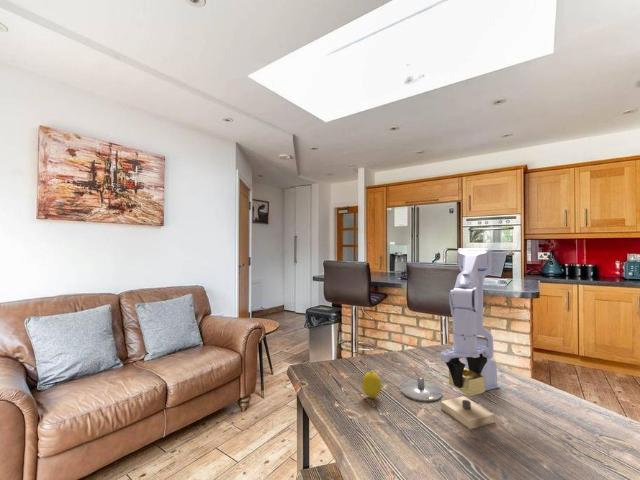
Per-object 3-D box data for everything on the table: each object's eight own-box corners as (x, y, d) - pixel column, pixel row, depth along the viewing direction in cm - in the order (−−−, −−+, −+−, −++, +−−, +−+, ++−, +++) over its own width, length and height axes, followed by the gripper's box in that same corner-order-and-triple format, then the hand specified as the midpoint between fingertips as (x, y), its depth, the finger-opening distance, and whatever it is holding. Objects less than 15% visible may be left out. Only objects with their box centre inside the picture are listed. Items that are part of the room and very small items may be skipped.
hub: (424, 380, 101) (424, 368, 101) (450, 397, 90) (450, 383, 90) (393, 386, 97) (393, 374, 97) (417, 404, 86) (416, 390, 86)
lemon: (381, 403, 87) (380, 375, 87) (362, 402, 88) (361, 374, 88) (381, 394, 92) (380, 368, 93) (363, 393, 94) (362, 367, 94)
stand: (463, 403, 86) (463, 390, 87) (494, 422, 77) (494, 408, 77) (441, 408, 84) (440, 395, 84) (469, 429, 74) (469, 414, 74)
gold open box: (463, 380, 85) (463, 366, 85) (484, 392, 78) (484, 376, 78) (449, 383, 83) (448, 369, 83) (469, 395, 76) (469, 380, 76)
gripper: (454, 341, 75) (455, 396, 74) (498, 334, 79) (499, 386, 79) (434, 333, 81) (435, 384, 81) (476, 327, 86) (477, 375, 86)
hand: (465, 384), depth 81 cm, fingers closed on gold open box, 5 cm apart
